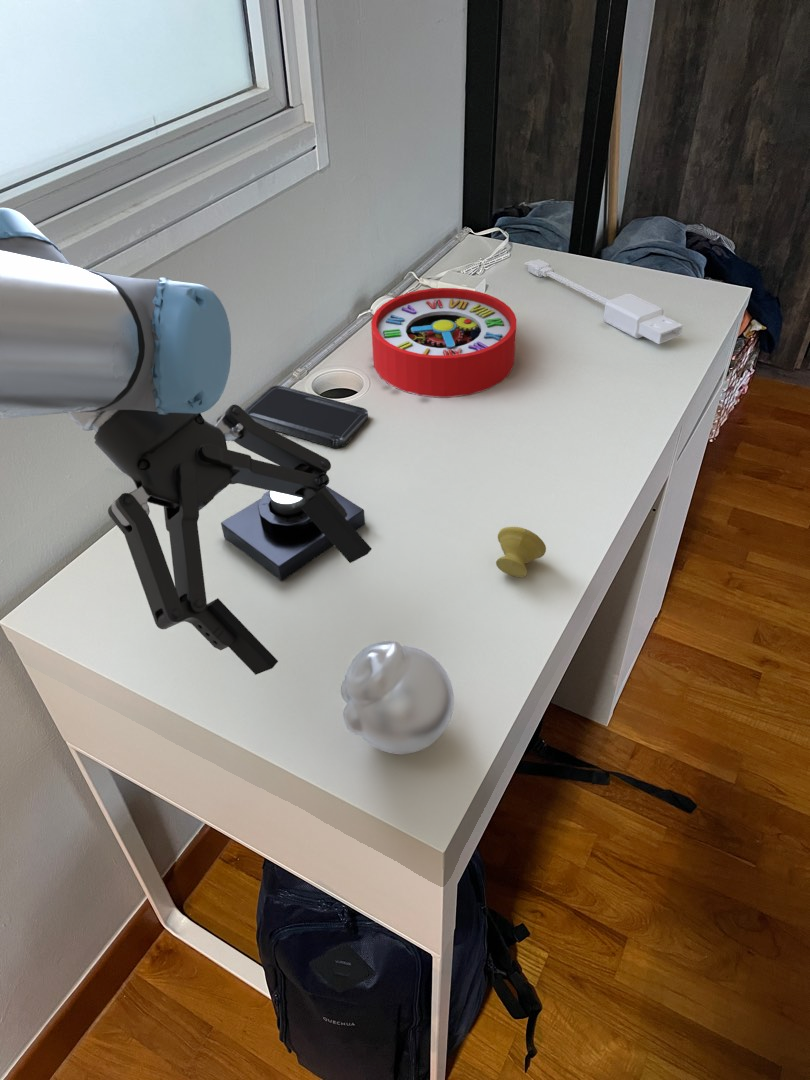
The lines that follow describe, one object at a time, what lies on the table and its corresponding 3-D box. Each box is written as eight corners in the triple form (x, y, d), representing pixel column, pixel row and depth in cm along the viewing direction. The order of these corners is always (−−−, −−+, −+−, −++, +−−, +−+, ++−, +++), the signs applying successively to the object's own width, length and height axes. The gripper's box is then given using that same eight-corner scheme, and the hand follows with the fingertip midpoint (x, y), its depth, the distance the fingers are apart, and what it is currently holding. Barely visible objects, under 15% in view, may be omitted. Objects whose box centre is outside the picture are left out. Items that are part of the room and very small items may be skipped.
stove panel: (281, 581, 85) (276, 553, 82) (223, 537, 90) (217, 510, 87) (365, 524, 91) (363, 496, 88) (306, 486, 96) (302, 459, 93)
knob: (501, 546, 88) (503, 510, 84) (547, 559, 86) (551, 524, 82) (484, 574, 84) (486, 539, 81) (532, 589, 83) (536, 553, 79)
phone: (340, 442, 100) (240, 413, 106) (340, 450, 101) (241, 420, 106) (371, 409, 105) (274, 383, 111) (372, 417, 106) (275, 390, 111)
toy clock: (497, 281, 121) (533, 349, 106) (496, 318, 125) (530, 388, 110) (363, 295, 119) (380, 365, 104) (365, 331, 123) (383, 404, 108)
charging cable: (539, 268, 139) (540, 249, 136) (681, 340, 117) (685, 318, 115) (515, 276, 137) (516, 256, 135) (655, 350, 115) (659, 328, 113)
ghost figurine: (380, 671, 76) (374, 597, 69) (471, 713, 72) (474, 639, 65) (324, 744, 70) (311, 672, 63) (419, 794, 66) (416, 723, 60)
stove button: (288, 524, 86) (286, 509, 85) (264, 507, 88) (261, 492, 87) (317, 505, 88) (315, 490, 87) (293, 489, 90) (291, 475, 89)
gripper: (213, 351, 72) (370, 529, 76) (-18, 518, 56) (197, 731, 61) (252, 307, 66) (419, 503, 71) (8, 480, 51) (243, 717, 55)
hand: (317, 608), depth 66 cm, fingers open, 13 cm apart
